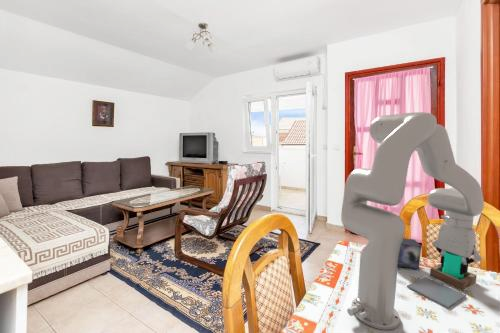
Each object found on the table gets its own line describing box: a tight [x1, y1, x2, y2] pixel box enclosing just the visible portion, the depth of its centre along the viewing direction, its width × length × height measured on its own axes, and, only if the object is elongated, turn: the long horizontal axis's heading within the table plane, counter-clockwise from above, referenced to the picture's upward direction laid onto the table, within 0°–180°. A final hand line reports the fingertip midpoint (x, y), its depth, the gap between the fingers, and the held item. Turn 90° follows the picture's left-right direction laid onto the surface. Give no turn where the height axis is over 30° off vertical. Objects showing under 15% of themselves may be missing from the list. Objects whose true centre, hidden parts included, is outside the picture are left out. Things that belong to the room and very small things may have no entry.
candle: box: [442, 251, 464, 280], centre depth 88 cm, size 6×6×12 cm
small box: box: [397, 237, 422, 271], centre depth 98 cm, size 11×6×10 cm, turn 77°
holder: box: [429, 262, 478, 292], centre depth 88 cm, size 10×10×3 cm
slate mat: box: [406, 276, 467, 310], centre depth 81 cm, size 12×12×1 cm
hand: (453, 269), depth 88 cm, fingers closed on candle, 4 cm apart
